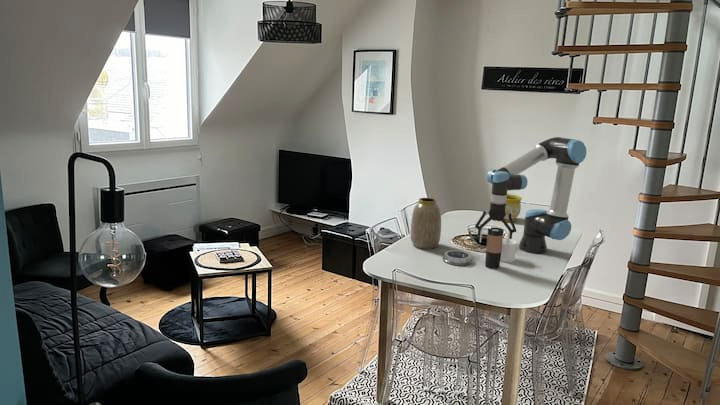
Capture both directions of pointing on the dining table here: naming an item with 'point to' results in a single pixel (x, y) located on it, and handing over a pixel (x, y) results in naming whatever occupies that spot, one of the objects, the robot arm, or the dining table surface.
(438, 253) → the dining table surface
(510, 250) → the mug
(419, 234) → the vase
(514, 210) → the flowerpot
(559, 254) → the dining table surface
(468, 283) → the dining table surface
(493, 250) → the travel mug
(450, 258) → the ring
